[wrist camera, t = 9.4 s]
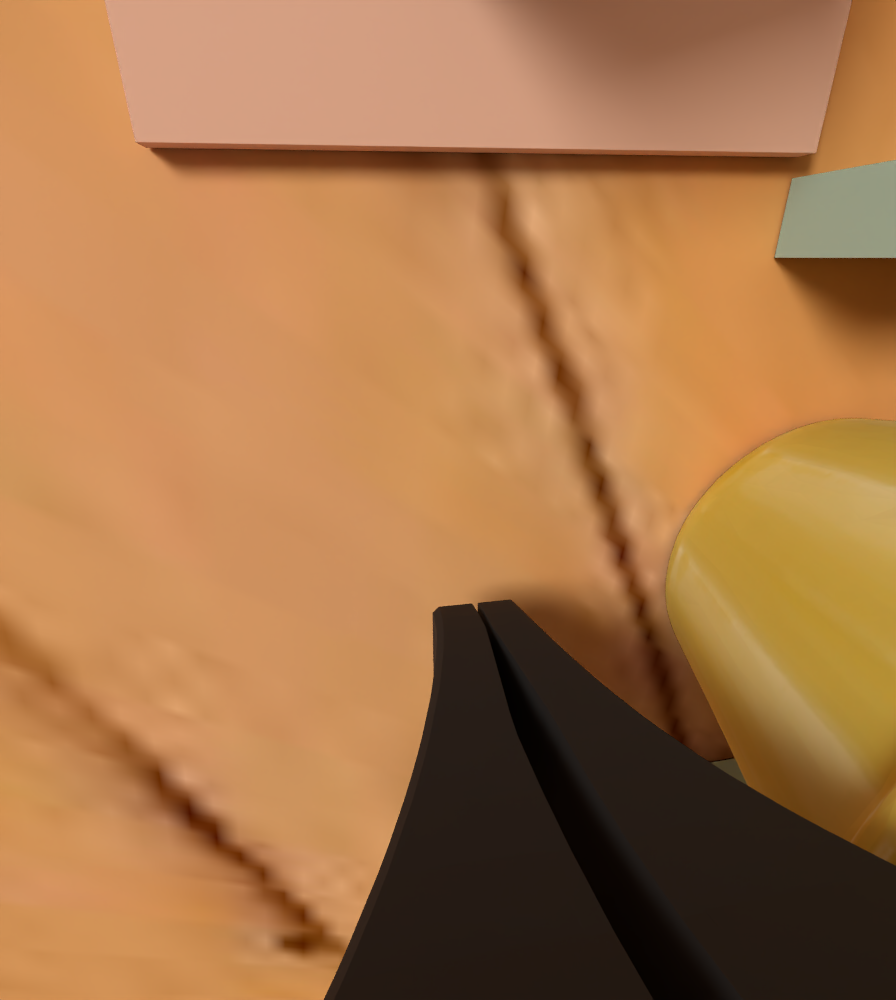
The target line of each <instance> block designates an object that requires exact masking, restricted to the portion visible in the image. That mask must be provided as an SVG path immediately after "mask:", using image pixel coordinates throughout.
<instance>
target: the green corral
mask: <svg viewBox="0 0 896 1000" xmlns="http://www.w3.org/2000/svg"><path fill="white" fill-rule="evenodd" d="M775 258H896V160H893V161H887V162H882V163H876V164H871V165H865V166H859V167H854V168H848V169H842V170H837V171H831V172H826V173H820V174H814V175H809V176H803V177H797V178H792V182H791V186H790V191H789V195H788V200H787V204H786V209H785V213H784V217H783V222H782V226H781V231H780V235H779V240H778V244H777V249H776V253H775ZM710 763H712V764H713V765H715V766H716V767H718V768H720V769H721V770H723V771H724V772H726V773H728V774H729V775H731V776H732V777H734V778H736V779H738V780H739V781H741V782H743V783H744V784H746V785H747V783H746V781H745V779H744V777H743V774H742V772H741V770H740V768H739V766H738V764H737V762H736V760H735V759H729V760H723V761H717V762H710Z"/></svg>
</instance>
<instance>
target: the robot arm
mask: <svg viewBox="0 0 896 1000" xmlns="http://www.w3.org/2000/svg"><path fill="white" fill-rule="evenodd" d="M433 661H434V677H433V685H432V692H431V698H430V703H429V708H428V712H427V717H426V721H425V726H424V731H423V735H422V740H421V744H420V748H419V751H418V755H417V759H416V763H415V766H414V770H413V773H412V776H411V780H410V783H409V786H408V790H407V793H406V796H405V799H404V802H403V805H402V808H401V811H400V814H399V817H398V820H397V823H396V826H395V829H394V832H393V834H392V837H391V840H390V843H389V846H388V849H387V851H386V854H385V857H384V859H383V862H382V865H381V867H380V870H379V873H378V875H377V878H376V880H375V882H374V885H373V887H372V890H371V892H370V895H369V897H368V899H367V902H366V904H365V907H364V909H363V911H362V914H361V916H360V919H359V921H358V923H357V926H356V928H355V931H354V933H353V935H352V938H351V940H350V943H349V945H348V948H347V950H346V952H345V954H344V957H343V959H342V961H341V963H340V966H339V968H338V970H337V972H336V975H335V977H334V979H333V981H332V983H331V985H330V987H329V990H328V992H327V994H326V996H325V998H324V1000H896V865H894V864H892V863H890V862H888V861H886V860H884V859H882V858H880V857H878V856H876V855H874V854H872V853H870V852H868V851H866V850H864V849H862V848H860V847H858V846H856V845H854V844H852V843H851V842H849V841H847V840H845V839H843V838H841V837H839V836H837V835H835V834H833V833H831V832H829V831H827V830H825V829H823V828H822V827H820V826H818V825H816V824H814V823H812V822H811V821H809V820H807V819H805V818H803V817H801V816H800V815H798V814H796V813H794V812H792V811H790V810H789V809H787V808H785V807H783V806H782V805H780V804H778V803H776V802H775V801H773V800H771V799H770V798H768V797H766V796H765V795H763V794H761V793H759V792H758V791H756V790H754V789H753V788H751V787H749V786H748V785H746V784H744V783H743V782H741V781H739V780H738V779H736V778H734V777H732V776H731V775H729V774H728V773H726V772H724V771H723V770H721V769H720V768H718V767H716V766H715V765H713V764H712V763H710V762H709V761H707V760H705V759H704V758H702V757H701V756H699V755H698V754H696V753H695V752H693V751H692V750H691V749H689V748H688V747H686V746H685V745H683V744H682V743H680V742H679V741H677V740H676V739H674V738H673V737H671V736H670V735H669V734H667V733H666V732H664V731H663V730H661V729H660V728H658V727H657V726H656V725H654V724H653V723H652V722H650V721H649V720H647V719H646V718H645V717H643V716H642V715H641V714H639V713H638V712H637V711H636V710H634V709H633V708H632V707H630V706H629V705H628V704H627V703H625V702H624V701H623V700H622V699H620V698H619V697H618V696H616V695H615V694H614V693H613V692H611V691H610V690H609V689H608V688H607V687H605V686H604V685H603V684H602V683H601V682H599V681H598V680H597V679H596V678H595V677H594V676H592V675H591V674H590V673H589V672H588V671H587V670H586V669H584V668H583V667H582V666H581V665H580V664H579V663H578V662H577V661H575V660H574V659H573V658H572V657H571V656H570V655H569V654H568V653H566V652H565V651H564V650H563V649H562V648H561V647H560V646H559V645H558V644H557V643H556V642H555V641H554V640H552V639H551V638H550V637H549V636H548V635H547V634H546V633H545V632H544V631H543V630H542V629H541V628H540V627H539V626H538V625H537V624H536V623H535V622H534V621H533V620H532V619H531V618H530V617H528V616H527V615H526V614H525V613H524V612H523V611H522V610H521V609H520V608H519V607H518V606H517V605H516V604H515V603H514V602H513V601H512V600H503V601H493V602H483V603H478V612H477V611H476V609H475V607H474V606H473V604H463V605H453V606H443V607H438V608H437V609H436V610H435V611H434V612H433Z"/></svg>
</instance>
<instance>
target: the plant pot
mask: <svg viewBox="0 0 896 1000" xmlns="http://www.w3.org/2000/svg"><path fill="white" fill-rule="evenodd" d="M665 597H666V606H667V612H668V616H669V620H670V623H671V626H672V628H673V631H674V634H675V636H676V638H677V640H678V642H679V644H680V646H681V648H682V650H683V652H684V654H685V656H686V658H687V660H688V662H689V664H690V666H691V668H692V670H693V672H694V674H695V676H696V678H697V680H698V682H699V684H700V686H701V688H702V691H703V693H704V695H705V697H706V699H707V701H708V703H709V705H710V707H711V709H712V711H713V713H714V715H715V717H716V719H717V721H718V724H719V726H720V728H721V730H722V732H723V734H724V736H725V738H726V741H727V743H728V745H729V747H730V749H731V751H732V753H733V755H734V757H735V760H736V762H737V764H738V766H739V768H740V770H741V772H742V774H743V777H744V779H745V781H746V783H747V785H748V786H749V787H751V788H753V789H754V790H756V791H758V792H759V793H761V794H763V795H765V796H766V797H768V798H770V799H771V800H773V801H775V802H776V803H778V804H780V805H782V806H783V807H785V808H787V809H789V810H790V811H792V812H794V813H796V814H798V815H800V816H801V817H803V818H805V819H807V820H809V821H811V822H812V823H814V824H816V825H818V826H820V827H822V828H823V829H825V830H827V831H829V832H831V833H833V834H835V835H837V836H839V837H841V838H843V839H845V840H847V841H849V842H851V843H852V844H854V845H856V846H858V847H860V848H862V849H864V850H866V851H868V852H870V853H872V854H874V855H876V856H878V857H880V858H882V859H884V860H886V861H888V862H890V863H892V864H894V865H896V421H891V420H878V419H864V418H845V419H833V420H827V421H821V422H816V423H813V424H809V425H806V426H803V427H800V428H797V429H794V430H791V431H789V432H786V433H784V434H782V435H780V436H778V437H776V438H774V439H772V440H770V441H768V442H766V443H765V444H763V445H761V446H759V447H758V448H756V449H755V450H753V451H752V452H751V453H749V454H748V455H746V456H745V457H744V458H742V459H741V460H739V461H738V462H737V463H736V464H734V465H733V466H732V467H731V468H730V469H728V470H727V471H726V472H725V473H724V474H723V475H722V476H721V477H720V478H718V479H717V481H716V482H715V483H714V484H713V485H712V486H711V487H710V488H709V489H708V490H707V491H706V493H705V494H704V495H703V496H702V497H701V499H700V500H699V501H698V502H697V504H696V505H695V506H694V508H693V509H692V511H691V512H690V514H689V515H688V517H687V518H686V520H685V522H684V524H683V526H682V528H681V530H680V532H679V534H678V536H677V538H676V541H675V544H674V547H673V550H672V553H671V556H670V559H669V564H668V569H667V575H666V588H665Z"/></svg>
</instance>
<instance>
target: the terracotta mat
mask: <svg viewBox="0 0 896 1000" xmlns="http://www.w3.org/2000/svg"><path fill="white" fill-rule="evenodd" d="M851 2H852V0H105V4H106V9H107V14H108V18H109V23H110V27H111V32H112V37H113V41H114V46H115V50H116V55H117V60H118V64H119V69H120V73H121V78H122V83H123V87H124V92H125V96H126V101H127V106H128V110H129V115H130V119H131V124H132V129H133V133H134V138H135V142H136V143H138V144H140V145H142V146H144V147H146V148H203V149H272V150H340V151H408V152H476V153H544V154H613V155H681V156H749V157H800V156H805V155H809V154H813V153H816V151H817V147H818V143H819V138H820V134H821V130H822V126H823V121H824V117H825V113H826V109H827V104H828V100H829V96H830V92H831V87H832V83H833V79H834V75H835V70H836V66H837V62H838V58H839V53H840V49H841V45H842V41H843V36H844V32H845V28H846V24H847V19H848V15H849V11H850V7H851Z"/></svg>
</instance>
